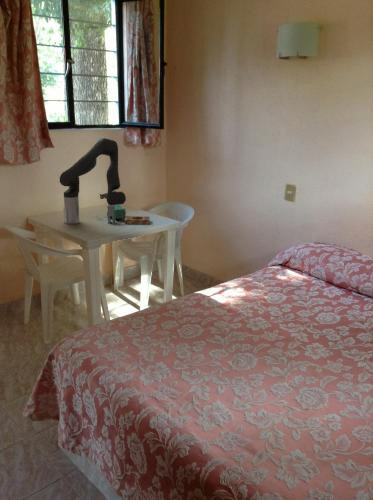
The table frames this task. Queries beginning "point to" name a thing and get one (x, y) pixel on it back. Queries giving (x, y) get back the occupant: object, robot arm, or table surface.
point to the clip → (111, 213)
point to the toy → (119, 212)
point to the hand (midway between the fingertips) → (110, 195)
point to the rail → (137, 220)
